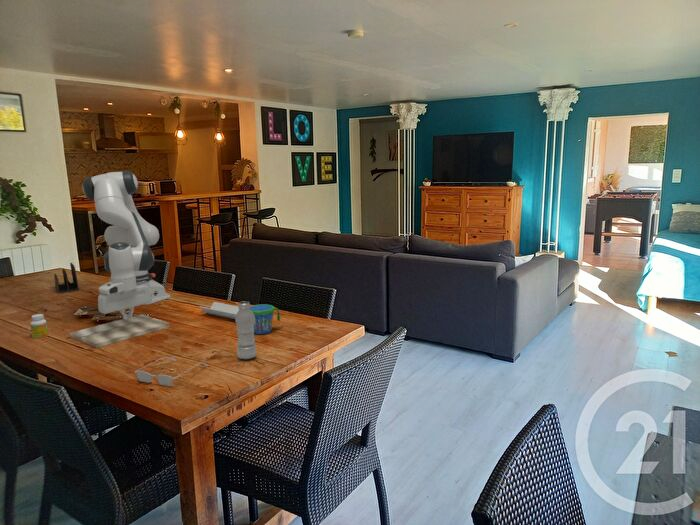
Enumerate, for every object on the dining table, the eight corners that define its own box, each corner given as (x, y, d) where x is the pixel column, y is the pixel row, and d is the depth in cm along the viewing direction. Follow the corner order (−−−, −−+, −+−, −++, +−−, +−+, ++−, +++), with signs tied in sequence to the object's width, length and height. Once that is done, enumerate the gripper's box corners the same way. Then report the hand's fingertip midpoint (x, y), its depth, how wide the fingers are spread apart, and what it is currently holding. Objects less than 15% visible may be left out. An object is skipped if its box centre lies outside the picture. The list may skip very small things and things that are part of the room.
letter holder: (74, 284, 289) (71, 260, 286) (79, 291, 273) (76, 266, 270) (55, 287, 283) (51, 263, 280) (58, 294, 267) (55, 268, 264)
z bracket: (215, 320, 230) (221, 308, 233) (254, 328, 217) (261, 316, 219) (199, 306, 221) (206, 295, 224) (239, 315, 208) (246, 302, 211)
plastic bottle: (238, 355, 174) (235, 300, 170) (258, 354, 175) (254, 299, 171) (236, 362, 168) (232, 305, 164) (256, 361, 169) (252, 304, 165)
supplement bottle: (32, 342, 192) (28, 318, 190) (33, 338, 196) (30, 314, 195) (48, 339, 194) (44, 316, 192) (49, 335, 199) (45, 312, 197)
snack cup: (277, 325, 207) (276, 301, 205) (284, 332, 197) (283, 308, 195) (240, 331, 200) (238, 306, 198) (245, 338, 191) (244, 313, 189)
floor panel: (143, 318, 219) (142, 313, 218) (175, 329, 204) (174, 323, 203) (66, 339, 194) (65, 333, 194) (96, 352, 179) (95, 346, 179)
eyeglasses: (134, 382, 155) (133, 370, 154) (173, 360, 171) (173, 350, 171) (174, 389, 150) (173, 376, 149) (211, 366, 166) (210, 355, 165)
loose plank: (154, 321, 211) (153, 318, 211) (169, 326, 204) (169, 323, 204) (81, 341, 188) (81, 337, 188) (96, 347, 181) (95, 344, 181)
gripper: (144, 278, 202) (148, 310, 204) (94, 289, 186) (98, 324, 189) (153, 280, 198) (156, 313, 201) (102, 291, 182) (106, 327, 185)
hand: (127, 318), depth 195 cm, fingers closed
